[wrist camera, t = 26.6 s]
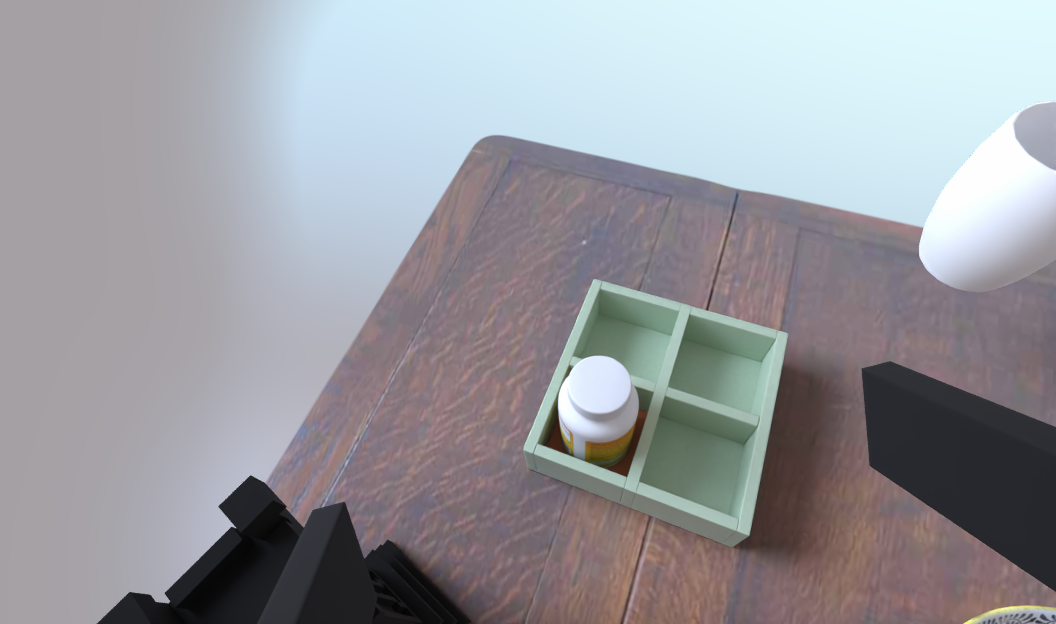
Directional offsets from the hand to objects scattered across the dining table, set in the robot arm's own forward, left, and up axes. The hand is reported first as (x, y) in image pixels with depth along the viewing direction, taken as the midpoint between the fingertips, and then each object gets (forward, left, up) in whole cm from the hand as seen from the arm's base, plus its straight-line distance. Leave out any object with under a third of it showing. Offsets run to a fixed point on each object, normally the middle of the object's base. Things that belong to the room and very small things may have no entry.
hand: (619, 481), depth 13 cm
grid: (0, +14, -28) cm, 31 cm away
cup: (+16, +27, -28) cm, 42 cm away
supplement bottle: (-3, +10, -28) cm, 30 cm away
